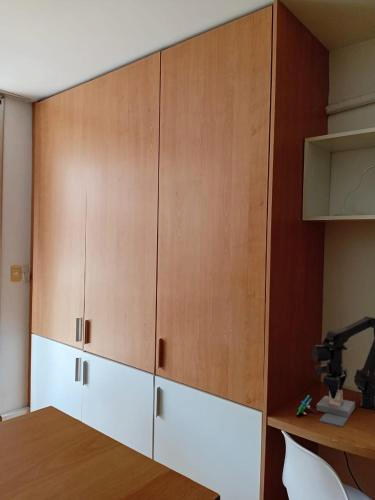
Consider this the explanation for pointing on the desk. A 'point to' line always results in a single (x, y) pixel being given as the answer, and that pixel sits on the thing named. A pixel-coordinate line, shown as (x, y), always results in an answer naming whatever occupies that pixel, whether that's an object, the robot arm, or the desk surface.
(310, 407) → the stick construction toy
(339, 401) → the cream block
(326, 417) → the dark gray panel
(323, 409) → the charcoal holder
